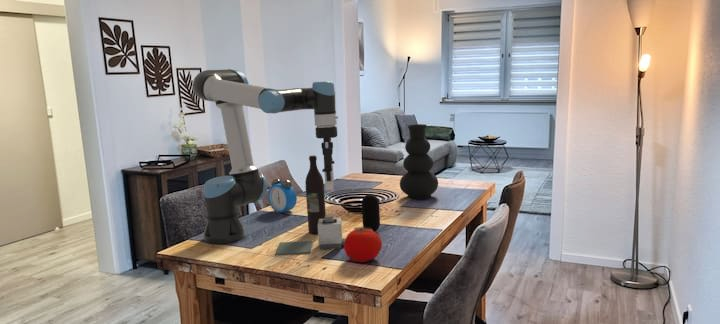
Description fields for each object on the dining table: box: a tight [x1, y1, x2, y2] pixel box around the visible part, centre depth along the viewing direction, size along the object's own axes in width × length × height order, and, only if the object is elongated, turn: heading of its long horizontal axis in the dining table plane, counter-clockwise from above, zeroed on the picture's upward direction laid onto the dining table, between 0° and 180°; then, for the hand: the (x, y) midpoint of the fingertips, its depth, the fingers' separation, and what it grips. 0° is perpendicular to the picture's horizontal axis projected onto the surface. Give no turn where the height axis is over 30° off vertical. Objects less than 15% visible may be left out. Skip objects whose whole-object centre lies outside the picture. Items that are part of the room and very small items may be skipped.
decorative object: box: [361, 193, 381, 233], centre depth 193 cm, size 7×7×15 cm
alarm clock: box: [267, 178, 298, 214], centre depth 231 cm, size 13×6×15 cm, turn 53°
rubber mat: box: [274, 240, 313, 256], centre depth 180 cm, size 12×12×1 cm
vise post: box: [319, 214, 373, 251], centre depth 180 cm, size 19×8×11 cm, turn 91°
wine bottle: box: [305, 154, 327, 235], centre depth 196 cm, size 7×7×30 cm
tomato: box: [343, 228, 383, 263], centre depth 165 cm, size 11×12×10 cm
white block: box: [317, 217, 343, 245], centre depth 180 cm, size 8×8×7 cm
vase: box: [399, 123, 439, 200], centre depth 243 cm, size 18×18×35 cm
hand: (329, 186), depth 180 cm, fingers open, 13 cm apart
